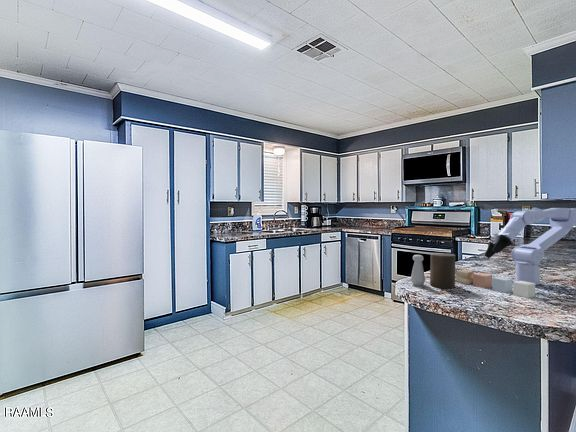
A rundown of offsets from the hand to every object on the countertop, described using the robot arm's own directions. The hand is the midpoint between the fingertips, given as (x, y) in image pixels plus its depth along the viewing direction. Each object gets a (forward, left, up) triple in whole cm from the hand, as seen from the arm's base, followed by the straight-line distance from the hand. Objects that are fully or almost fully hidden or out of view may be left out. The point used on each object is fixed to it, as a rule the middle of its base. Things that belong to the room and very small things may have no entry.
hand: (490, 254), depth 134 cm
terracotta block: (+2, -2, -14) cm, 14 cm away
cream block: (+2, +14, -14) cm, 20 cm away
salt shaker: (+25, -16, -14) cm, 33 cm away
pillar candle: (+17, -10, -14) cm, 24 cm away
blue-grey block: (+2, +6, -14) cm, 15 cm away
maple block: (+2, -10, -14) cm, 17 cm away
